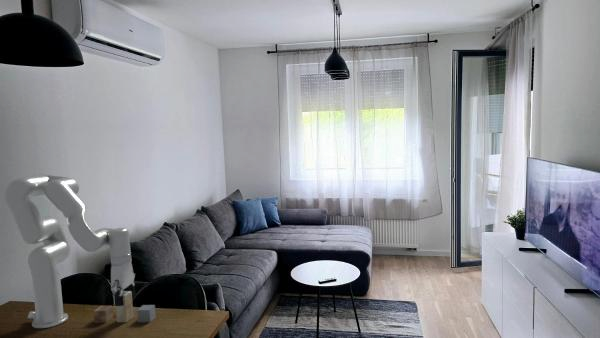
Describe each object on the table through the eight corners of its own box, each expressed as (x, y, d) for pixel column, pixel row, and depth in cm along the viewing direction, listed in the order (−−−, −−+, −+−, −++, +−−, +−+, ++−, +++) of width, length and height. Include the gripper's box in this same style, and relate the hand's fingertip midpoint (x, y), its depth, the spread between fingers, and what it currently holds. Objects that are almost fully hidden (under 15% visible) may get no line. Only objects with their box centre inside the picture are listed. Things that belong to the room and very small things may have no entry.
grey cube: (138, 322, 165) (137, 310, 164) (143, 316, 170) (142, 305, 169) (150, 322, 164) (149, 310, 164) (155, 316, 169) (154, 304, 169)
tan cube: (94, 323, 166) (93, 310, 166) (101, 317, 171) (100, 305, 171) (106, 322, 166) (105, 310, 165) (113, 317, 171) (112, 305, 170)
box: (126, 322, 165) (124, 295, 164) (116, 322, 166) (114, 295, 165) (134, 317, 170) (132, 290, 169) (124, 316, 171) (122, 290, 170)
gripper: (122, 253, 175) (126, 293, 176) (100, 266, 158) (105, 310, 159) (140, 252, 174) (144, 292, 175) (119, 265, 157) (124, 309, 158)
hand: (125, 300), depth 167 cm, fingers open, 9 cm apart
